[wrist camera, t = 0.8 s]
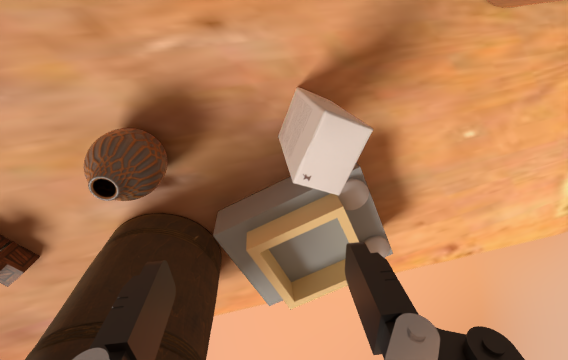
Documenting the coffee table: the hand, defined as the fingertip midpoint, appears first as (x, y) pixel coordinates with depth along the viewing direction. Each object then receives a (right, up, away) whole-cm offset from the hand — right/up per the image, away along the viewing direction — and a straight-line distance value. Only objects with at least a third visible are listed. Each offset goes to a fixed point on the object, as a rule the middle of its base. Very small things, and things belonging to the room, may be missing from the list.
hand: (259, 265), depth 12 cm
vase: (-15, +7, +18) cm, 25 cm away
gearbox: (+4, -2, +25) cm, 25 cm away
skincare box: (+3, +11, +19) cm, 22 cm away
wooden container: (-15, -7, +25) cm, 30 cm away
